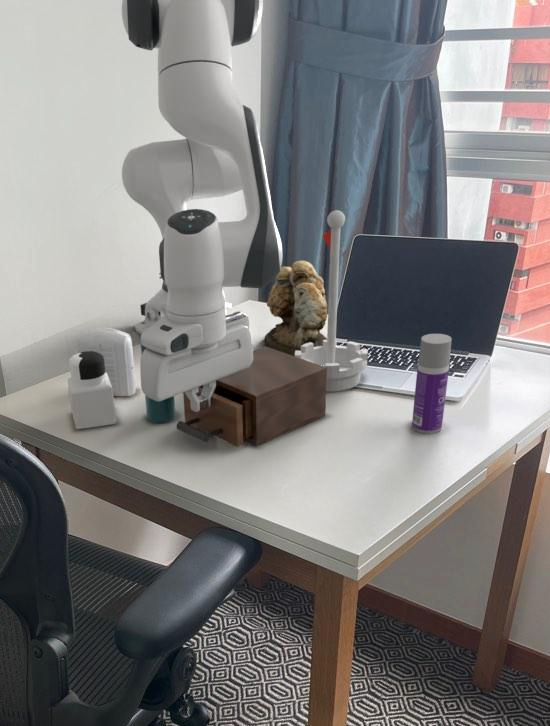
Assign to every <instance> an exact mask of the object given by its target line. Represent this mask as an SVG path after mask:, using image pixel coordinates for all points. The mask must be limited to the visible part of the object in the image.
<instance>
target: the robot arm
mask: <svg viewBox="0 0 550 726" xmlns="http://www.w3.org/2000/svg"><path fill="white" fill-rule="evenodd" d="M263 11H264V0H122V2H121V19H122V24H123V27H124V30H125V32H126V34H127V36H128V40H129V41H130V42H131V43H132V44H133V45H134V46H135V47H136V48H139V49H143V50H145V51H153V50H154V49H157V97H158V98H157V99H158V103H157V104H158V109H159V111H160V112H159V113H160V114H161V116H162V118H163V119H164V120H165V121H166V122H167V123H168V125H169V126H170V127H171V128H172V129H173V130H174V131H176V132H177V133H178V134H179V135H181V136H182V137H184V138H182V139H181V138H180V139H173V140H163V141H153V142H150V143H147V144H143V145H140V146H137V147H135V148H131V149H130V150H129V151H128V152H127V154H126V155H125V157H124V160H123V162H122V166H121V180H122V185H123V188H124V190H125V191H126V193H127V195H128V196H129V197H130V198H131V200H133V201H134V202H135V203H136V204H138V205H140V206H141V207H143V208H144V210H146V212H148V213H149V214H150V216H151V217H152V218H153V219H154V221H155V222H156V224H157V226H158V229H159V231H160V234H161V237H162V238H161V239H162V240H161V241H160V242H159V245H158V257H159V258H158V259H159V271H160V272H159V273H158V274H159V275H160V276H159V279H162V284H161V289H160V290H158V291H157V293H156V294H154V295H153V296H152V297H151V298H150V299H149V300H148V301H147V302H144V303H142V304H140V306H139V307H140V315H141V316H144V320H142V321H140V322H139V323H137V324H136V325H135V326H134V329H135V330H134V331H136V333H138V334H140V335H141V342H140V345H141V344H142V345H143V346H144V347H146V349H145V350H144V352H143V353H141V357H140V363H139V365H140V366H139V367H140V369H139V370H140V371H139V372H140V387H141V391H142V393H143V394H144V396H145V395H146V396H147V397H149V398H151V399H153V400H155V401H162V400H165V399H167V398H170V397H173V396H174V397H176V396H178V395H180V394H183V392H184V393H185V394H186V395H187V397H188V398H189V400H190V404H191V409H192V410H193V411H195V412H198V411H201V410H203V409H206V408H208V407H211V396H212V394H213V392H214V390H215V387H216V380H218V379H220V378H223V377H226V376H228V375H231V374H234V373H236V372H239V371H241V370H244V369H247V368H249V367H250V366H251V364H252V362H253V351H254V349H253V341H252V335H251V332H250V331H251V330H250V319H249V316H248V315H247V314H246V313H245V312H242V311H239V310H238V311H235V312H233V313H231V314H228V310H227V308H232V303H229V302H226V296H225V292H224V290H223V288H237V287H240V288H246V289H263V288H265V287H266V286H267V285H269V284H270V283H271V282H272V281H273V280H275V277H276V276H277V275H278V274H279V273H280V268H281V267H282V265H283V257H284V255H283V244H282V239H281V236H280V232H279V230H278V227H277V225H276V221H275V217H274V211H273V206H272V199H271V198H272V197H271V193H270V187H269V182H268V181H269V180H268V174H267V169H266V168H267V167H266V163H265V157H264V152H263V146H262V144H261V139H260V133H259V128H258V124H257V121H256V120H257V119H256V117H255V115H254V113H253V110H252V109H251V108H250V107H248V106H247V105H244V104H243V103H242V102H241V100H240V99H239V97H238V95H237V91H236V90H235V86H234V79H233V55H232V47H236V46H240V45H243V44H247V43H249V42H250V41H251V40H252V39H253V38H254V36H255V35H256V34H257V33H258V27H259V25H260V23H261V20H262V16H263ZM240 191H242V193H243V200H244V205H245V210H246V216H245V218H243V219H241V220H235V221H218V218H217V216H216V215H215V214H214V213H213V212H212V211H209V210H206V209H199V208H191V209H188V206H187V203H188V202H189V201H193V200H202V199H203V200H204V199H211V198H220V197H221V198H222V197H226V196H229V195H232V194H234V193H237V192H240ZM202 385H204V386H203V389H202V392H201V395H200V396H198V397H197V395H196V393H198V387H199V386H202Z"/></svg>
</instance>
